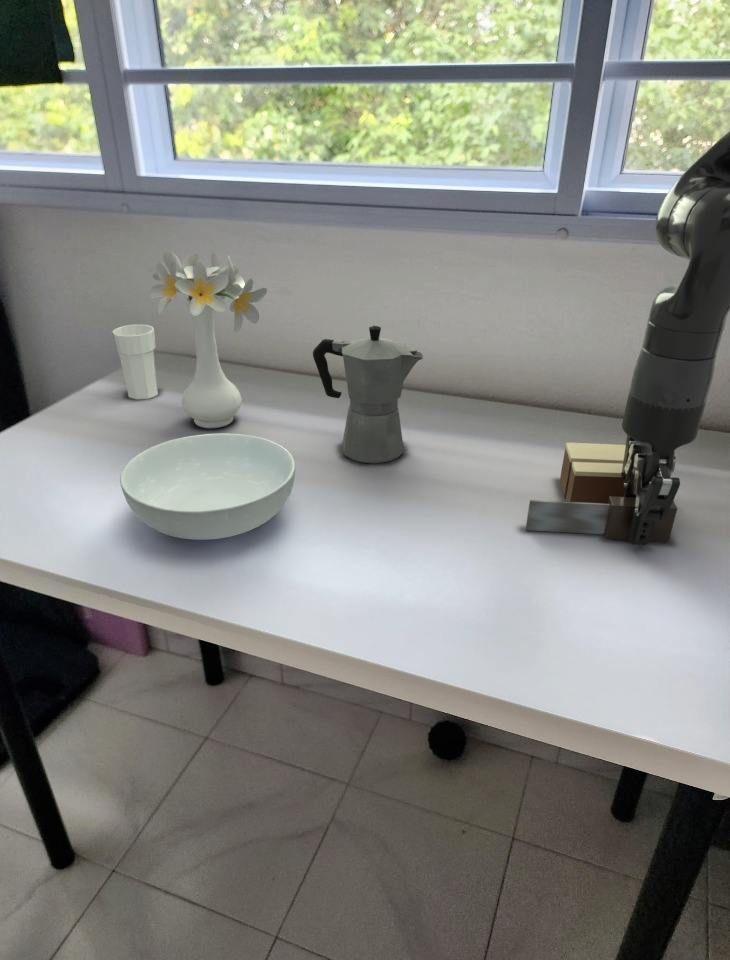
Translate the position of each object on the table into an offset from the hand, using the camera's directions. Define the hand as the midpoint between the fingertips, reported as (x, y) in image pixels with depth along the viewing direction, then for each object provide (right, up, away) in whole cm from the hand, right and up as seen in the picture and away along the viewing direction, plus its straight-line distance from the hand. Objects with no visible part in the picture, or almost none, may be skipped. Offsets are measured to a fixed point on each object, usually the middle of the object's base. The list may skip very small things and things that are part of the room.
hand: (632, 530), depth 87 cm
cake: (-1, +5, +10) cm, 11 cm away
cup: (-67, +24, +42) cm, 83 cm away
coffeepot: (-30, +12, +22) cm, 39 cm away
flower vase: (-53, +18, +31) cm, 64 cm away
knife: (-4, 0, +1) cm, 4 cm away
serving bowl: (-50, +2, +6) cm, 50 cm away
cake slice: (-1, +3, +6) cm, 7 cm away
